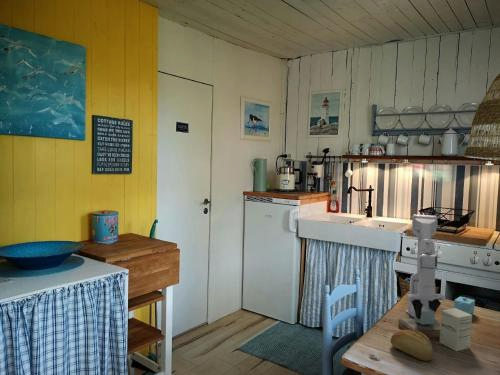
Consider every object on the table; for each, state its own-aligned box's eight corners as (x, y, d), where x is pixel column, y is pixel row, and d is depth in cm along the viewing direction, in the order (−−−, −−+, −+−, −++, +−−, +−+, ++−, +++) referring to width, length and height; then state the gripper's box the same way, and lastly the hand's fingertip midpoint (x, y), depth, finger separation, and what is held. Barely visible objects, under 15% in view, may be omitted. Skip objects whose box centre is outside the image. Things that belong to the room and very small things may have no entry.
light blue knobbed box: (465, 320, 167) (467, 303, 166) (450, 316, 171) (451, 299, 170) (474, 313, 175) (476, 296, 175) (460, 309, 179) (461, 293, 179)
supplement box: (438, 342, 146) (440, 309, 145) (453, 339, 149) (455, 307, 148) (456, 352, 139) (458, 317, 138) (470, 348, 142) (473, 314, 141)
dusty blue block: (415, 319, 157) (415, 306, 157) (426, 318, 158) (427, 306, 158) (422, 324, 153) (422, 311, 152) (434, 324, 153) (434, 311, 153)
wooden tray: (398, 325, 161) (398, 318, 160) (432, 323, 163) (432, 316, 162) (414, 338, 149) (414, 331, 149) (450, 337, 151) (451, 329, 151)
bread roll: (398, 341, 147) (399, 320, 146) (439, 357, 136) (440, 335, 135) (384, 349, 141) (385, 327, 140) (426, 366, 129) (427, 343, 129)
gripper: (414, 288, 149) (412, 322, 150) (450, 287, 151) (447, 321, 152) (405, 282, 156) (403, 315, 157) (438, 281, 158) (436, 314, 159)
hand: (424, 317), depth 155 cm, fingers closed on dusty blue block, 5 cm apart
